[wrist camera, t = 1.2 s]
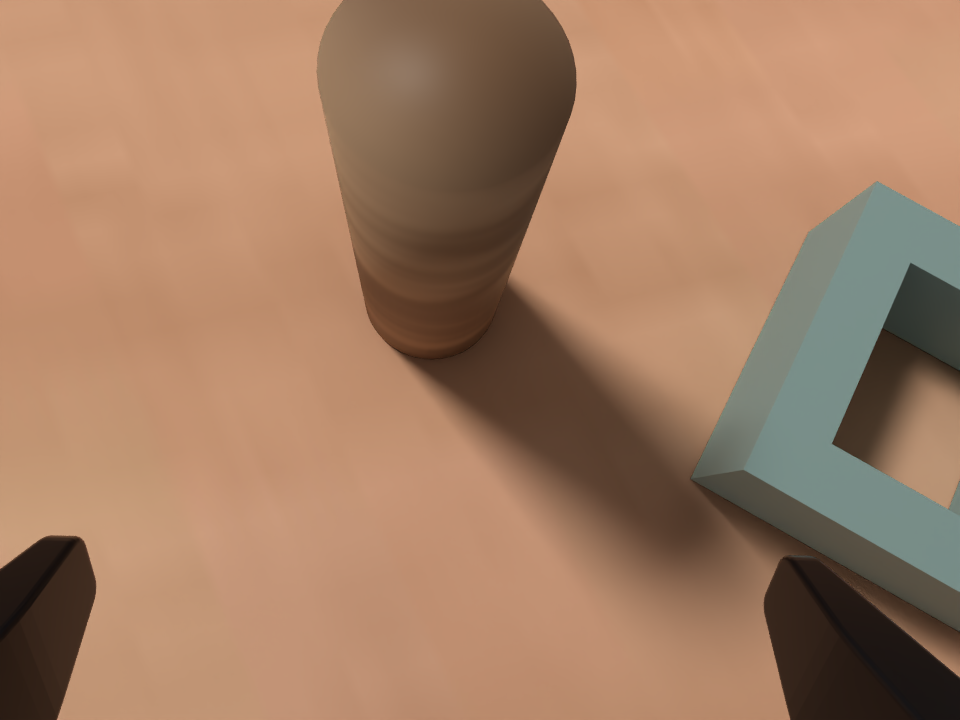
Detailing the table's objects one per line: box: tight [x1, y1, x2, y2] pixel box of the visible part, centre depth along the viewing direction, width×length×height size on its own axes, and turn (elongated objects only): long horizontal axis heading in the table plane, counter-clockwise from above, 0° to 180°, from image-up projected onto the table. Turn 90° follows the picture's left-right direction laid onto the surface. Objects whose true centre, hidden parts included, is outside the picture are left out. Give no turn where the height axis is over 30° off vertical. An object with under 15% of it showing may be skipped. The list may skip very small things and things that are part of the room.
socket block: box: [691, 181, 960, 632], centre depth 23 cm, size 10×10×4 cm
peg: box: [317, 0, 576, 359], centre depth 19 cm, size 4×4×12 cm
